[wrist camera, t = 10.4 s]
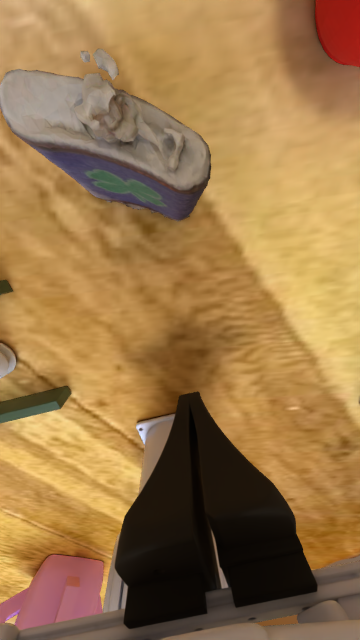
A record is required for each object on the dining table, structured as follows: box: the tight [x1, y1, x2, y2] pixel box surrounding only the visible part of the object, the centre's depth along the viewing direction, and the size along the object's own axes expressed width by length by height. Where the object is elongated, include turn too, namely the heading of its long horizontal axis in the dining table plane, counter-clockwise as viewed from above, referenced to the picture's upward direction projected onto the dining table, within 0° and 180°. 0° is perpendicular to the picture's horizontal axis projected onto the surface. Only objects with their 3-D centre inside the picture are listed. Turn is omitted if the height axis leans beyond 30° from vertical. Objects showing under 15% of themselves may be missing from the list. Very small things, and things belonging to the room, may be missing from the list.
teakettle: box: [0, 554, 104, 630], centre depth 32 cm, size 17×17×12 cm
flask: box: [0, 49, 211, 221], centre depth 11 cm, size 9×3×11 cm, turn 76°
